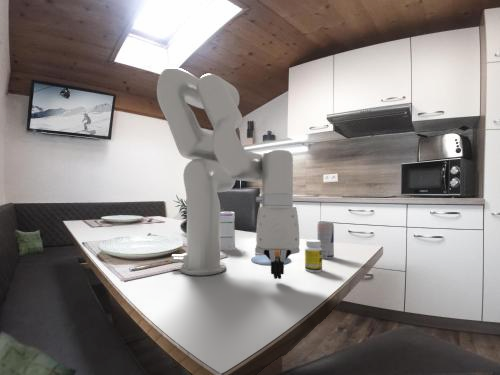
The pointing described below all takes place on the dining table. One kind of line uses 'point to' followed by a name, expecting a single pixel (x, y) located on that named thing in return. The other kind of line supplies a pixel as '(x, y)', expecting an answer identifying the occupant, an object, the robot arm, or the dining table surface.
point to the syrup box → (227, 230)
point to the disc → (266, 260)
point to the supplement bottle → (313, 256)
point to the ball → (276, 253)
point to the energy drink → (326, 239)
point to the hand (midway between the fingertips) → (277, 276)
